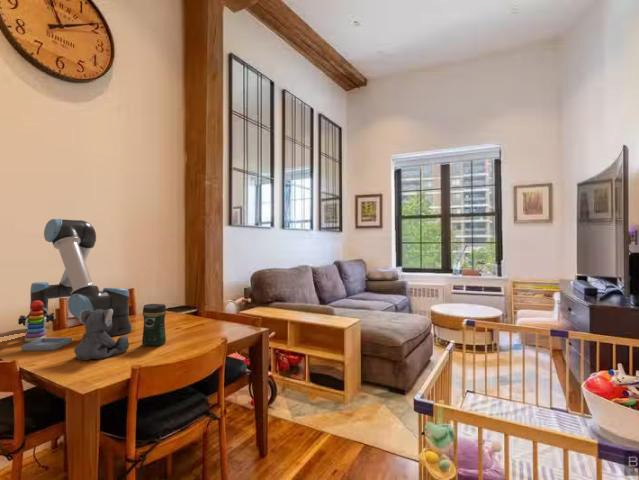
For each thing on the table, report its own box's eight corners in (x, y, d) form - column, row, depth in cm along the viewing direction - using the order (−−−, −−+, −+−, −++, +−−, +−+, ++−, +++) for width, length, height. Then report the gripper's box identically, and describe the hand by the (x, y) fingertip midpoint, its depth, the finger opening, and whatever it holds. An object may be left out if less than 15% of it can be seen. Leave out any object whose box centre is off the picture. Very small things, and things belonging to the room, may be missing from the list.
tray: (71, 342, 165) (72, 337, 165) (54, 350, 152) (54, 345, 152) (41, 342, 164) (41, 337, 164) (21, 351, 151) (21, 345, 151)
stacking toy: (34, 343, 163) (34, 302, 163) (20, 342, 164) (20, 301, 164) (50, 338, 170) (50, 299, 170) (36, 337, 172) (37, 298, 172)
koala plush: (132, 350, 154) (133, 305, 154) (97, 364, 136) (98, 313, 137) (98, 347, 158) (99, 303, 158) (61, 360, 140) (62, 310, 140)
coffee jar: (168, 342, 167) (169, 302, 167) (158, 347, 159) (159, 305, 159) (150, 341, 168) (150, 302, 169) (138, 345, 161) (139, 304, 161)
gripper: (60, 319, 188) (60, 328, 169) (13, 324, 177) (8, 334, 158) (61, 305, 188) (61, 312, 169) (14, 309, 177) (8, 317, 158)
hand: (35, 322), depth 164 cm, fingers closed on stacking toy, 6 cm apart
